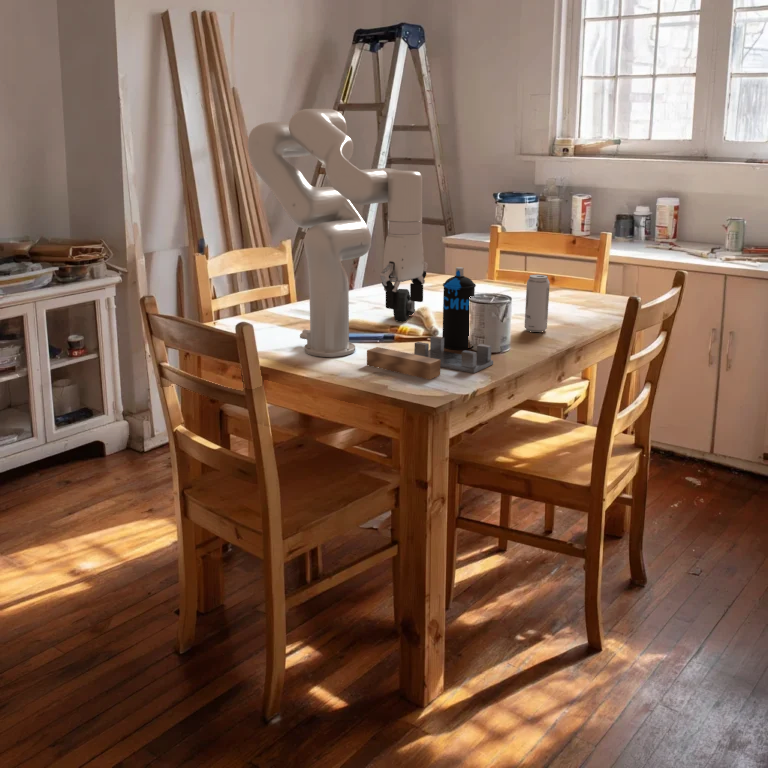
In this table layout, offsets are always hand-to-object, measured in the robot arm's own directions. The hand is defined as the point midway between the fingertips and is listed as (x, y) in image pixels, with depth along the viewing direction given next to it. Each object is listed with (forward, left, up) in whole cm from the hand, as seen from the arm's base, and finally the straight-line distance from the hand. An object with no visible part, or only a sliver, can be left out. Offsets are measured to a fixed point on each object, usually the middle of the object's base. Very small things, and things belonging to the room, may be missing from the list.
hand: (404, 304), depth 203 cm
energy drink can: (+8, +52, -16) cm, 55 cm away
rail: (0, 0, -16) cm, 16 cm away
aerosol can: (-1, +26, -16) cm, 30 cm away
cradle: (+6, +12, -15) cm, 20 cm away
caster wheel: (-29, +43, -16) cm, 54 cm away
